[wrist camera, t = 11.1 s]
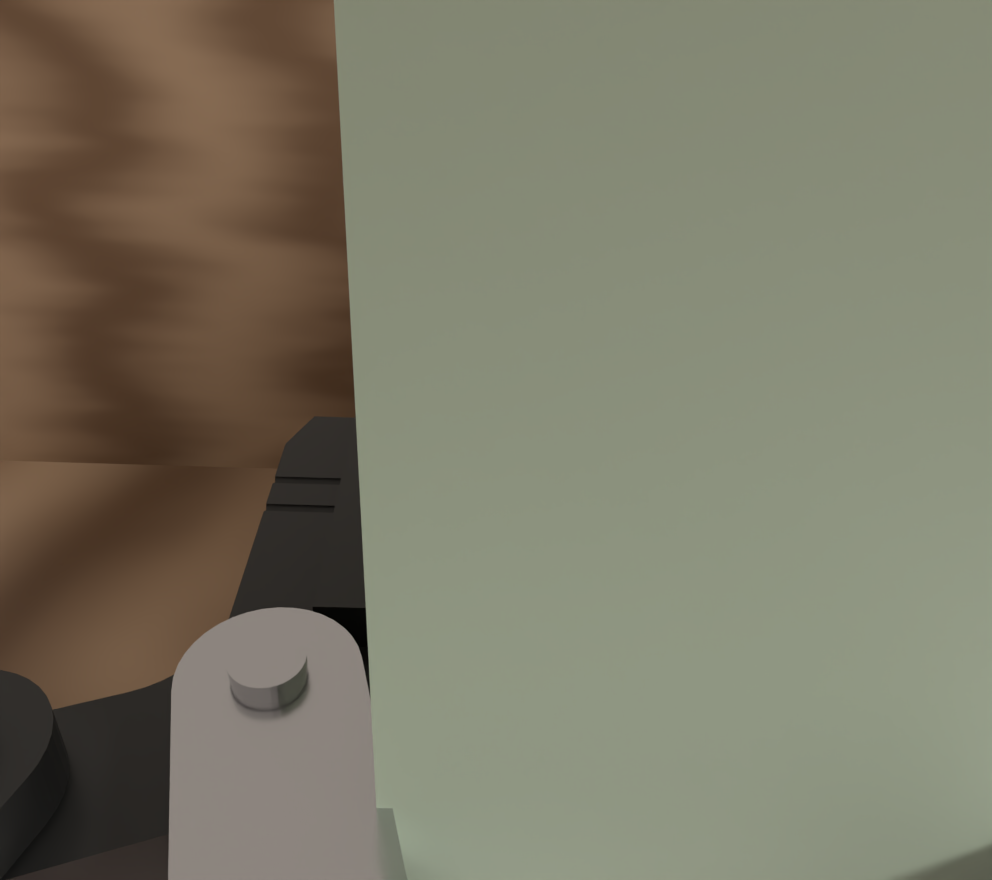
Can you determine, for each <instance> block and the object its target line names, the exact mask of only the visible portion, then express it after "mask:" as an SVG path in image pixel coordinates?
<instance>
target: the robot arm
mask: <svg viewBox="0 0 992 880" xmlns="http://www.w3.org/2000/svg"><path fill="white" fill-rule="evenodd" d="M0 880H407V876H406V871H405V867H404V862H403V857H402V852H401V847H400V842H399V837H398V832H397V828H396V823H395V818H394V813H393V808H376V791H375V772H374V753H373V734H372V715H371V696H370V677H369V659H368V640H367V621H366V602H365V583H364V564H363V545H362V526H361V507H360V488H359V469H358V450H357V431H356V414H355V418H351V417H319V416H314V417H313V418H312V419H311V420H310V421H309V422H308V423H307V424H306V425H305V426H304V427H303V428H302V429H300V430H299V431H298V432H297V433H296V434H295V435H294V436H293V437H292V438H291V439H290V440H289V441H288V442H287V443H286V444H285V447H284V450H283V453H282V456H281V459H280V462H279V465H278V468H277V471H276V475H275V483H273V484H272V487H271V490H270V493H269V496H268V499H267V502H266V511H264V512H263V515H262V518H261V521H260V524H259V527H258V530H257V533H256V536H255V539H254V542H253V546H252V549H251V552H250V555H249V558H248V561H247V564H246V567H245V570H244V573H243V576H242V579H241V583H240V586H239V589H238V592H237V595H236V598H235V601H234V604H233V607H232V610H231V613H230V616H229V619H228V620H226V621H224V622H222V623H220V624H218V625H216V626H215V627H213V628H212V629H210V630H209V631H207V632H206V633H204V634H203V635H202V636H201V637H200V638H199V639H197V640H196V641H195V642H194V643H193V644H192V645H191V647H190V648H189V649H188V650H187V651H186V652H185V654H184V655H183V657H182V659H181V660H180V662H179V664H178V666H177V668H176V671H175V674H174V675H172V676H170V677H168V678H166V679H164V680H162V681H160V682H157V683H155V684H152V685H150V686H147V687H144V688H140V689H137V690H133V691H130V692H126V693H122V694H118V695H113V696H109V697H105V698H100V699H96V700H92V701H88V702H83V703H79V704H75V705H70V706H66V707H62V708H58V709H53V710H52V707H51V704H50V702H49V700H48V697H47V696H46V694H45V693H44V692H43V691H42V689H41V688H40V687H39V686H38V685H36V684H35V683H34V682H32V681H31V680H30V679H28V678H25V677H23V676H21V675H19V674H16V673H12V672H8V671H3V670H0Z"/></svg>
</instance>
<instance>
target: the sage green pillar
mask: <svg viewBox="0 0 992 880" xmlns="http://www.w3.org/2000/svg"><path fill="white" fill-rule="evenodd" d="M334 15H335V34H336V53H337V72H338V91H339V110H340V129H341V148H342V167H343V186H344V204H345V223H346V242H347V261H348V280H349V299H350V318H351V337H352V356H353V375H354V394H355V413H356V431H357V450H358V469H359V488H360V507H361V526H362V545H363V564H364V583H365V602H366V621H367V640H368V659H369V677H370V696H371V715H372V734H373V753H374V772H375V791H376V808H393V813H394V818H395V823H396V828H397V832H398V837H399V842H400V847H401V852H402V857H403V862H404V867H405V871H406V876H407V880H992V0H334Z"/></svg>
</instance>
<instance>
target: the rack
mask: <svg viewBox="0 0 992 880" xmlns="http://www.w3.org/2000/svg"><path fill="white" fill-rule="evenodd" d="M355 414H356V413H355V394H354V375H353V356H352V337H351V318H350V299H349V280H348V261H347V242H346V223H345V204H344V186H343V167H342V148H341V129H340V110H339V91H338V72H337V53H336V34H335V15H334V0H0V670H3V671H8V672H12V673H16V674H19V675H21V676H23V677H25V678H28V679H30V680H31V681H32V682H34V683H35V684H36V685H38V686H39V687H40V688H41V689H42V691H43V692H44V693H45V694H46V696H47V697H48V700H49V702H50V704H51V707H52V710H53V709H58V708H62V707H66V706H70V705H75V704H79V703H83V702H88V701H92V700H96V699H100V698H105V697H109V696H113V695H118V694H122V693H126V692H130V691H133V690H137V689H140V688H144V687H147V686H150V685H152V684H155V683H157V682H160V681H162V680H164V679H166V678H168V677H170V676H172V675H174V674H175V671H176V668H177V666H178V664H179V662H180V660H181V659H182V657H183V655H184V654H185V652H186V651H187V650H188V649H189V648H190V647H191V645H192V644H193V643H194V642H195V641H196V640H197V639H199V638H200V637H201V636H202V635H203V634H204V633H206V632H207V631H209V630H210V629H212V628H213V627H215V626H216V625H218V624H220V623H222V622H224V621H226V620H228V619H229V616H230V613H231V610H232V607H233V604H234V601H235V598H236V595H237V592H238V589H239V586H240V583H241V579H242V576H243V573H244V570H245V567H246V564H247V561H248V558H249V555H250V552H251V549H252V546H253V542H254V539H255V536H256V533H257V530H258V527H259V524H260V521H261V518H262V515H263V512H264V511H266V502H267V499H268V496H269V493H270V490H271V487H272V484H273V483H275V475H276V471H277V468H278V465H279V462H280V459H281V456H282V453H283V450H284V447H285V444H286V443H287V442H288V441H289V440H290V439H291V438H292V437H293V436H294V435H295V434H296V433H297V432H298V431H299V430H300V429H302V428H303V427H304V426H305V425H306V424H307V423H308V422H309V421H310V420H311V419H312V418H313V417H314V416H319V417H351V418H355Z"/></svg>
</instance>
